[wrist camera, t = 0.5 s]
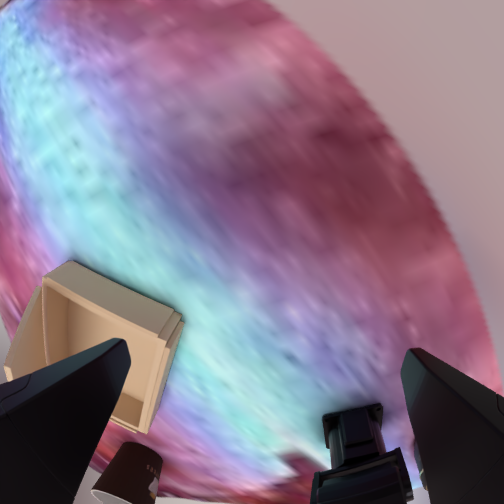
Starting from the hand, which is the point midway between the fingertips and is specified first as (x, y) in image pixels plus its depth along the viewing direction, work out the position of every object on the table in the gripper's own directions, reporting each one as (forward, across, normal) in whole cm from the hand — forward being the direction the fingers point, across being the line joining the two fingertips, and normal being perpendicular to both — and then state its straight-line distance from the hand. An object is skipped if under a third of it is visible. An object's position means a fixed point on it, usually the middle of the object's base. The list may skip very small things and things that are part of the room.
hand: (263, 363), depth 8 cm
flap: (+9, +21, +9) cm, 25 cm away
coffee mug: (+14, +19, +33) cm, 41 cm away
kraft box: (+14, +16, +11) cm, 24 cm away
